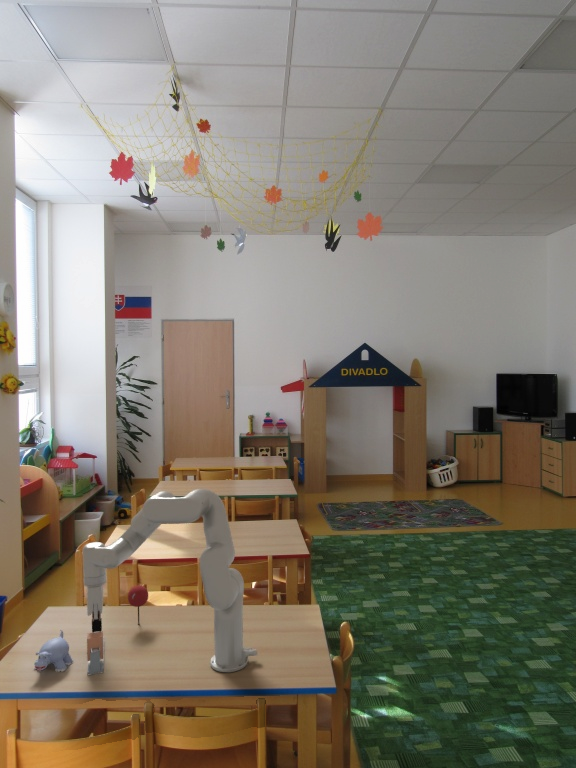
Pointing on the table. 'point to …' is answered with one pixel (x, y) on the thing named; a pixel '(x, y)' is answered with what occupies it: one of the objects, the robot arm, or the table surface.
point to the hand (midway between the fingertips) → (97, 630)
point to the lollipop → (138, 597)
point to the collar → (94, 643)
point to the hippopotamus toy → (54, 654)
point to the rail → (95, 661)
